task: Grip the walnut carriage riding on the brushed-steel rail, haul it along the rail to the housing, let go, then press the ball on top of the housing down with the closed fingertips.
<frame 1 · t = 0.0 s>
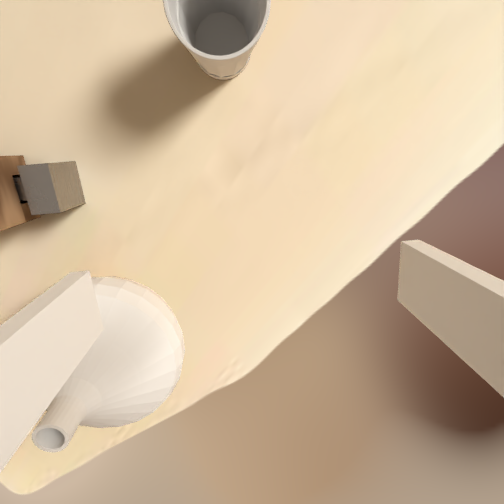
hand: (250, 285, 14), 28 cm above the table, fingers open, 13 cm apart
cup: (222, 48, 36), on the table
vase: (125, 320, 45), on the table
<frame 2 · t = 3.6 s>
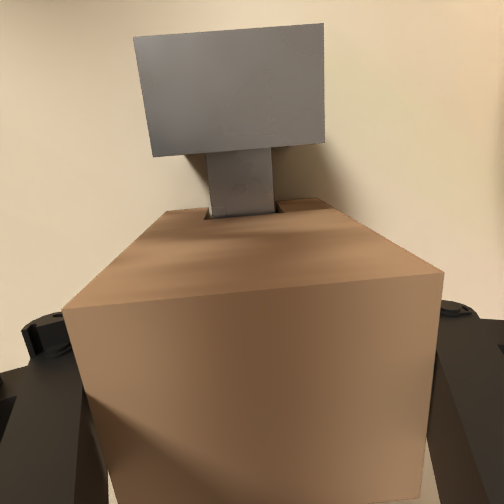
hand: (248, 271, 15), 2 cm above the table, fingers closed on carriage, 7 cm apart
rail: (257, 380, 19), on the table
carriage: (253, 309, 12), point 5 cm above the table, slide at 0.0 cm, touching gripper
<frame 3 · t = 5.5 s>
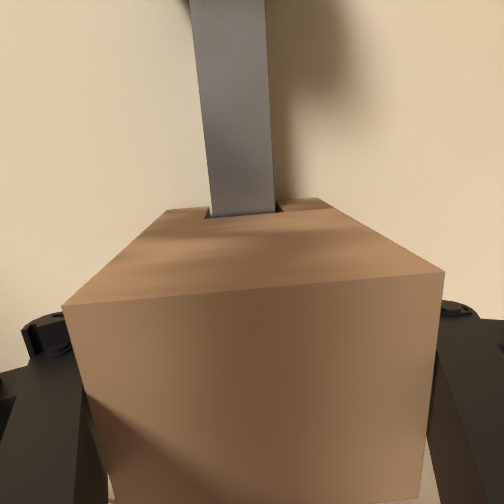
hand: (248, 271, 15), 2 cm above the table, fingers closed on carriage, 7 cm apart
rail: (247, 265, 17), on the table
carriage: (252, 308, 12), point 5 cm above the table, slide at 7.2 cm, touching gripper
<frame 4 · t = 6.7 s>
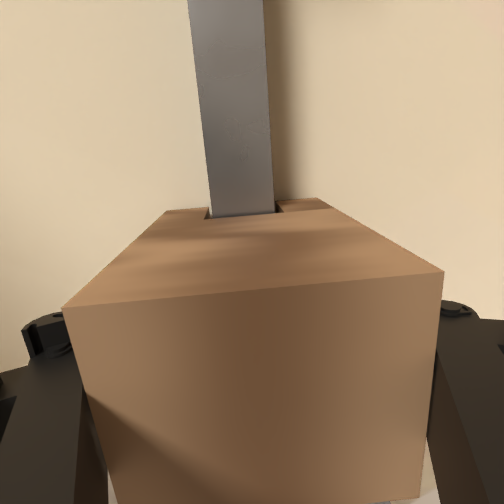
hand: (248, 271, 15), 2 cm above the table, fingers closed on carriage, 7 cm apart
rail: (237, 151, 15), on the table
carriage: (253, 308, 12), point 5 cm above the table, slide at 12.9 cm, touching gripper
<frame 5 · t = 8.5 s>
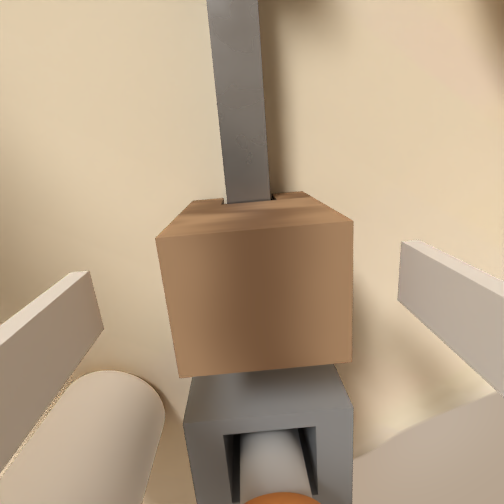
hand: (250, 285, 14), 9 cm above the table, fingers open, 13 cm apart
rail: (244, 157, 21), on the table
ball: (274, 485, 17), point 9 cm above the table, slide at 0.0 cm
carriage: (254, 263, 17), point 5 cm above the table, slide at 13.0 cm
beverage can: (117, 405, 26), on the table
housing: (262, 373, 26), on the table
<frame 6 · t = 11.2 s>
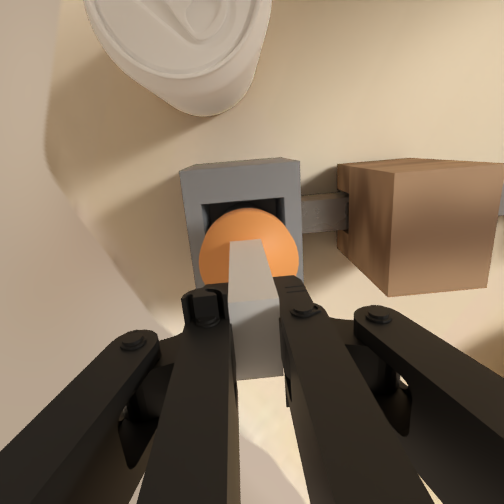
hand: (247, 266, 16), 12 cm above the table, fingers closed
rail: (432, 198, 28), on the table
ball: (246, 242, 20), point 8 cm above the table, slide at 0.8 cm, touching gripper
carriage: (400, 216, 23), point 5 cm above the table, slide at 13.0 cm
beverage can: (202, 59, 24), on the table
housing: (242, 215, 28), on the table
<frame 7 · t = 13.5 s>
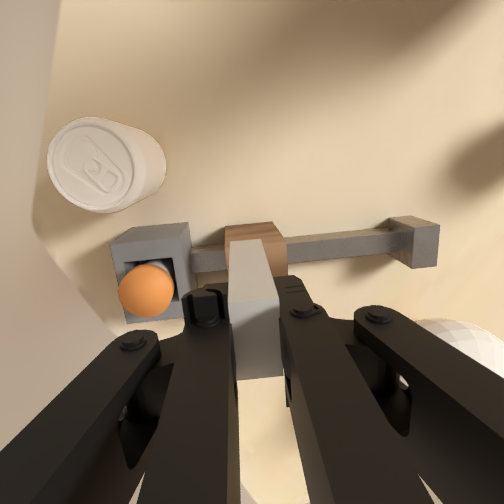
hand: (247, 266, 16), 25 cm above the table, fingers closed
rail: (292, 246, 42), on the table
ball: (153, 279, 35), point 7 cm above the table, slide at 1.8 cm
carriage: (254, 263, 37), point 5 cm above the table, slide at 13.0 cm
beverage can: (132, 164, 38), on the table
housing: (165, 258, 42), on the table
vase: (411, 354, 49), on the table
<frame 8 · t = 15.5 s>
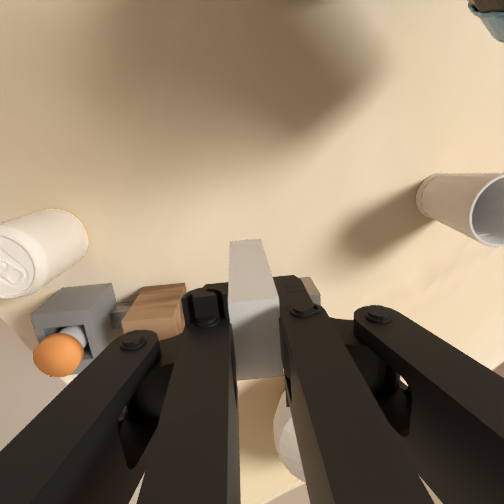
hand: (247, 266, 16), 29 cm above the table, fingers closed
rail: (205, 302, 49), on the table
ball: (71, 340, 41), point 7 cm above the table, slide at 1.8 cm
carriage: (161, 324, 43), point 5 cm above the table, slide at 13.0 cm
cup: (436, 195, 46), on the table
beverage can: (60, 236, 45), on the table
housing: (94, 313, 48), on the table
vase: (321, 392, 55), on the table
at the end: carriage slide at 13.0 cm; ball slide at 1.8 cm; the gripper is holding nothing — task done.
